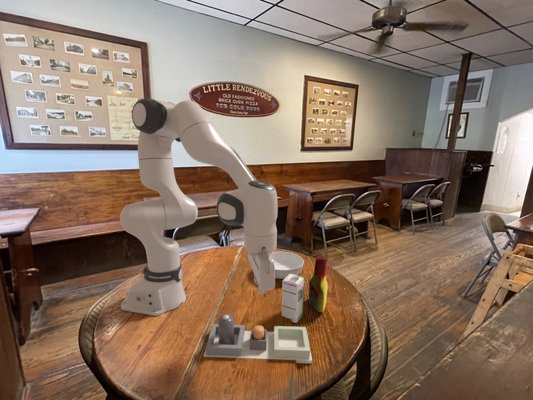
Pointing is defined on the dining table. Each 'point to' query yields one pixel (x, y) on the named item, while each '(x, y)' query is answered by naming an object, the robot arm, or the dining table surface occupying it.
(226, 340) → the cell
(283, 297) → the syrup box
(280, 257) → the serving bowl
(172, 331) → the dining table surface
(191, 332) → the dining table surface
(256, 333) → the brown egg
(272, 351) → the grey compartment tray
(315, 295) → the bottle
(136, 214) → the robot arm
